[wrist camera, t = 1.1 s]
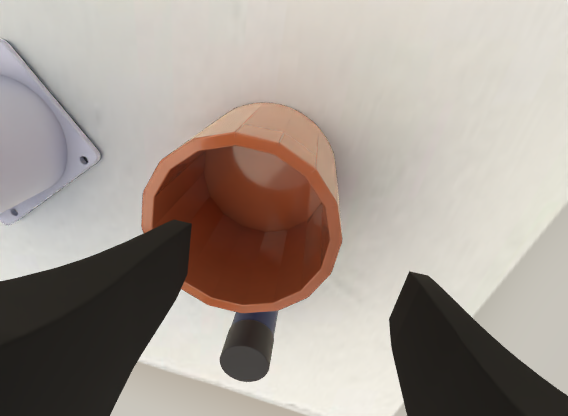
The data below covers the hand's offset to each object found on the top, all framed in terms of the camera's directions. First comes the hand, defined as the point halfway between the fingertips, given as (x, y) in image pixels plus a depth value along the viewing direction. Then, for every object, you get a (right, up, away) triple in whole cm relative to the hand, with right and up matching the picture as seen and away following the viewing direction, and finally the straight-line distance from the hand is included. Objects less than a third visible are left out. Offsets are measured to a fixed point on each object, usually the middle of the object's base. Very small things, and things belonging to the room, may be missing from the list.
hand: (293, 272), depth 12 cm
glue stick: (-2, -4, +13) cm, 14 cm away
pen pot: (-1, +4, +10) cm, 11 cm away
